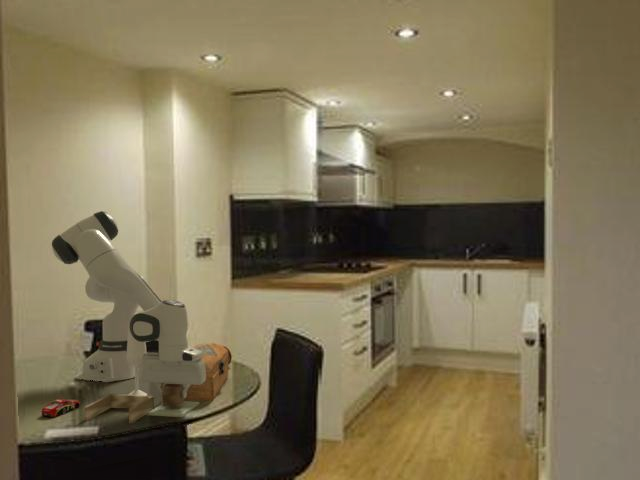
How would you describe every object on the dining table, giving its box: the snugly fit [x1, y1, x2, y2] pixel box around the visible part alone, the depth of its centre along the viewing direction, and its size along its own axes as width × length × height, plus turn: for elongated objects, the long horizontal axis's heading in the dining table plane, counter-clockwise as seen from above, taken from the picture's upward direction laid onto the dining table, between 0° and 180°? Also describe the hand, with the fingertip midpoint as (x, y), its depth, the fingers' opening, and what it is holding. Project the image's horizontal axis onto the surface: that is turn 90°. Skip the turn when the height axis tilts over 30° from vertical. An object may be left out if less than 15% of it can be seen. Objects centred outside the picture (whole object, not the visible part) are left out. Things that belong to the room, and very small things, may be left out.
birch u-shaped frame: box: [84, 393, 155, 424], centre depth 189 cm, size 15×14×4 cm
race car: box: [41, 398, 81, 418], centre depth 192 cm, size 13×5×4 cm, turn 160°
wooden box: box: [184, 342, 229, 402], centre depth 218 cm, size 30×16×14 cm, turn 178°
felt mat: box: [147, 400, 200, 418], centre depth 194 cm, size 11×14×1 cm
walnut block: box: [162, 383, 185, 407], centre depth 194 cm, size 5×5×6 cm
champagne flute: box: [126, 324, 148, 396], centre depth 210 cm, size 7×7×24 cm
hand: (173, 397), depth 194 cm, fingers closed on walnut block, 5 cm apart
